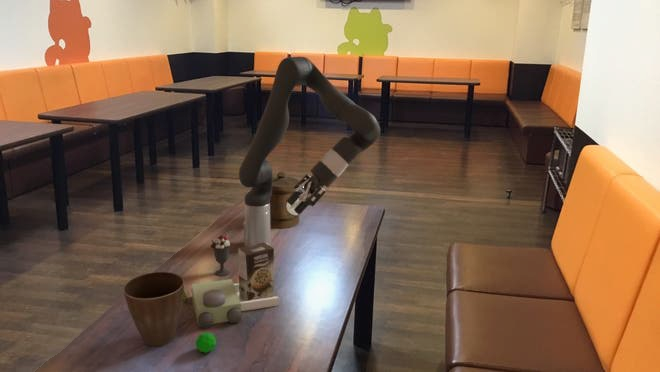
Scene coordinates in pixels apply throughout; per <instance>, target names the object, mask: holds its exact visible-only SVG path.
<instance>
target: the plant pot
mask: <svg viewBox="0 0 660 372" xmlns="http://www.w3.org/2000/svg"><path fill="white" fill-rule="evenodd" d="M184 289H185V280H184V278H183V277H182V276H181V275H179V274H177V273H175V272H169V271H157V272H156V271H155V272H149V273H145V274H140V275H138V276H136V277H133V278H132V279H129V281H127V282H126V283H125V284H124V286H123V288H122V291H123V295H124V298H125V302H126V304H127V308H128V311H129V314H130V315H131V318H132V320H133V323H134V325H135V327H136V329H137V331H138V332H139V335H140V336H141V338H142V339H143V341H144V343H145V344H146V345H147V346H150V347H162V346H165V345H167V344H169V343H171V342H172V341H173V339H174V338H175V335H176V332H177V328H178V325H179V321H180V317H181V312H182V307H183V302H182V301H183V292H184Z"/></svg>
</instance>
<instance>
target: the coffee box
mask: <svg viewBox="0 0 660 372" xmlns="http://www.w3.org/2000/svg"><path fill="white" fill-rule="evenodd" d="M238 283H239V296H240V297H241V298H242V299H243V300H244V301H250V300H257V299H263V298H270V297H274V296H275V249H274V247H272V246H269V245H267V244H266V243H264V242H263V243H259V244H255V245H250V246H243V247H238Z"/></svg>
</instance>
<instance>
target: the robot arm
mask: <svg viewBox="0 0 660 372" xmlns="http://www.w3.org/2000/svg"><path fill="white" fill-rule="evenodd" d="M299 86H306V87H307V88H309V89H310V90H312V91H313V92H315V93H316V94H317V96H318V97H319V99H320V100H321V103H322V105H323V107H324V108H325V110H327V111H328V113H330V114H331V115H332V116H333V117H335V118H336V119H337V120H338V121H340V122H341V123H343V124H344V125H345V124H347V126H349V127H350V128H351V129H352V130H353V131H354V132H353V133H352V134H351V135H350V136H348V137H347V136H343V137H342V138H341V139H339V141H337V142H336V144H335V145H334V146H332V148H331V149H330V150H328V152H326V153H325V154H324V155H323V156H322V157H321V158H320V159H319V161H317V163H316V164H314V166H312V168H310V173H311V174H312V175H311V176H310V175H309V174H308V173H307V174H305V175H304V176H303V177H302V178H301V179H300V180H299V182H298V183H297V184H296V186H295V187H294V188H295V190H294V193H293V194H292V195H291V196H290V197H289V198H288V199H287V202H288V203H289V204H290V205H293V204H294V203H295V202H296V200H297V199H298V198H299V199H300V197H301V196H303V195H304V197H303V199H302V200H301V201H299V204H298V206H297V207H296V208H295V209H294V211H295V212H296V213H297V214H299V215H301V214H302V213H303V212H304V211H305V209H306V208H308V207H310V206H311V207H314V206H315V205H316V204H317V203H318V201H319V200H320V199H321V198H322V197H323V196H324V195H325V194H326V192H327V191H326V189H324V186H325V187H326V188H330V187H331V186H332V185H333V184H334V183H335V181H336V180H337V179H338V178H339V177H340V176H341V175H342V174H343V172H345V170H346V169H347V168H348V167H349V165H350V164H351V163H352V162H353V161H354V160H355V159H356V158H357V157H358V155H360V154H361V153H363V152H364V151H365V150H367V149H368V148H370V147H371V146H372V145H374V143H375V142H376V141H377V140H378V139H379V138H380V135H381V127H380V125H379V122H378V120H377V119H376V117H375V115H373V114H372V113H371V112H369V111H368V109H367V110H366V109H365V108H363V107H361V106H359V105H358V104H356V103H355V102H354V101H353V100H352V99H350V98H349V97H348V96H347V95H345V94H344V93H343V92H341V91H340V90H339V89H338V88H336V85H334V84H332V82H330V80H329V79H328V78H327V77H326V76H325V75H324V74H323V73H322V72H321V70H319V68H318V67H317V66H316V64H315V63H313V62H312V61H311V60H310V58H308V57H305V56H288V57H285V58H283V59H282V60H281V61H280V62H279V64H278V66H277V69H276V72H275V76H274V80H273V84H272V87H271V90H270V94H269V98H268V100H267V103H266V106H265V109H264V112H263V113H262V115H261V118H260V121H259V123H258V127H257V130H256V132H255V135H254V137H253V139H252V142H251V145H250V148H249V150H248V151H247V154H246V155H245V157H244V159H243V161H242V163H241V165H240V168H239V172H238V178H239V181H240V183H241V185H242V186H243V187H245V188H251V189H250V190H249V191H248V192H247V193H246V194H245V195H244V217H245V218H244V221H243V245H244V246H243V247H246V246H250V245H255V244H259V243H263V242H264V243H266V244H267V245H269V246H271V243H272V241H271V240H272V239H271V237H272V236H271V235H272V231H271V227H270V198H271V195H272V178H273V177H274V176H273V168H272V166H271V164H270V162H269V161H268V160H267V157H268V156H270V154H271V153H272V152H273V151H274V149H275V148H277V147H278V145H279V144H280V142H281V141H282V139H283V138H284V136H285V134H286V131H287V129H288V127H289V123H290V112H289V107H288V105H289V104H288V103H289V101H290V97H291V95H292V93H293V90H294V89H295V87H299ZM271 247H272V246H271Z"/></svg>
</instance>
